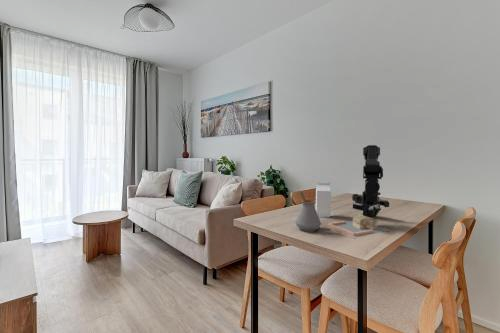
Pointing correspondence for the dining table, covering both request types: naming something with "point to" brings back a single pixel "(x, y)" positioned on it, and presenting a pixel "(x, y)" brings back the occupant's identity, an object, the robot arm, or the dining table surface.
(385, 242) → the dining table surface
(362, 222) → the t block
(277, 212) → the dining table surface
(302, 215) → the coffee pot
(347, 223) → the board
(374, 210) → the robot arm
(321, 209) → the milk carton
